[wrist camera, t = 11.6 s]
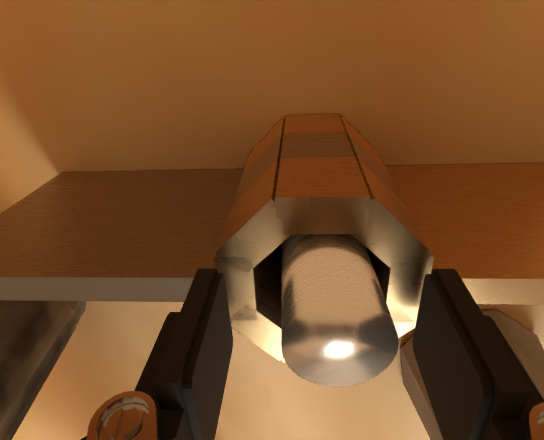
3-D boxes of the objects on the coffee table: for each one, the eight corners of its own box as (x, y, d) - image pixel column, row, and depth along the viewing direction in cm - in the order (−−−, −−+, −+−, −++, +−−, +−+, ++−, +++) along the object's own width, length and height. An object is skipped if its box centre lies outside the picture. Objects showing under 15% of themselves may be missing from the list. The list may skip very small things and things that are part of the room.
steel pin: (312, 211, 21) (343, 401, 11) (270, 181, 20) (258, 353, 10) (349, 172, 20) (423, 341, 9) (306, 138, 19) (334, 281, 9)
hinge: (610, 105, 18) (894, 188, 9) (564, 226, 21) (744, 371, 12) (45, 122, 20) (-141, 203, 11) (81, 230, 23) (-44, 355, 15)
